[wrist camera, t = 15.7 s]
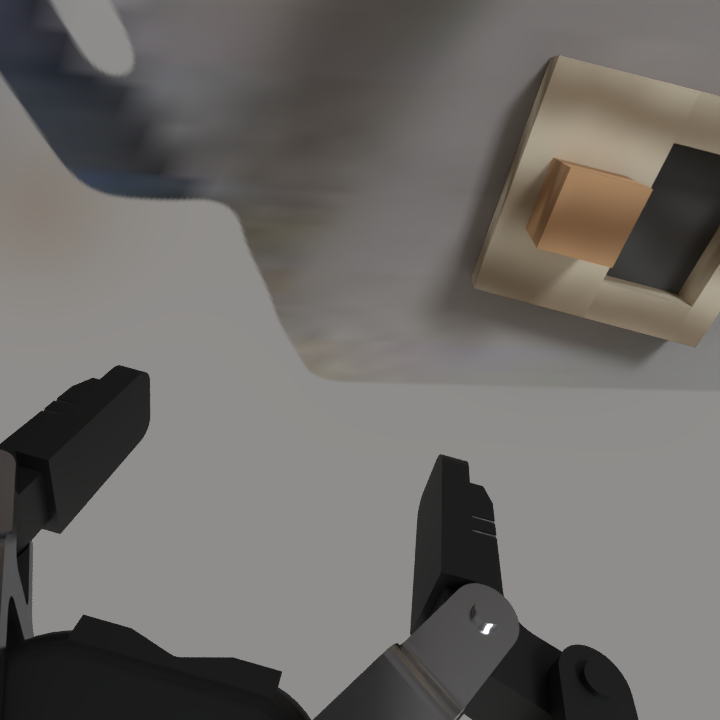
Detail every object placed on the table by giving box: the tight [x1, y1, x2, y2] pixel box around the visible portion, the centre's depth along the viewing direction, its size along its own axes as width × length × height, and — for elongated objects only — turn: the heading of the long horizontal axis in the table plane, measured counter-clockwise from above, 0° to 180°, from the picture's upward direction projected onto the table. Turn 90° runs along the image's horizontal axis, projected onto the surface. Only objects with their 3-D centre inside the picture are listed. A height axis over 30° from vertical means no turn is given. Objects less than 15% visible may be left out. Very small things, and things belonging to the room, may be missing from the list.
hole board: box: [472, 55, 720, 347], centre depth 35 cm, size 16×18×3 cm
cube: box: [526, 157, 653, 268], centre depth 32 cm, size 5×5×5 cm
